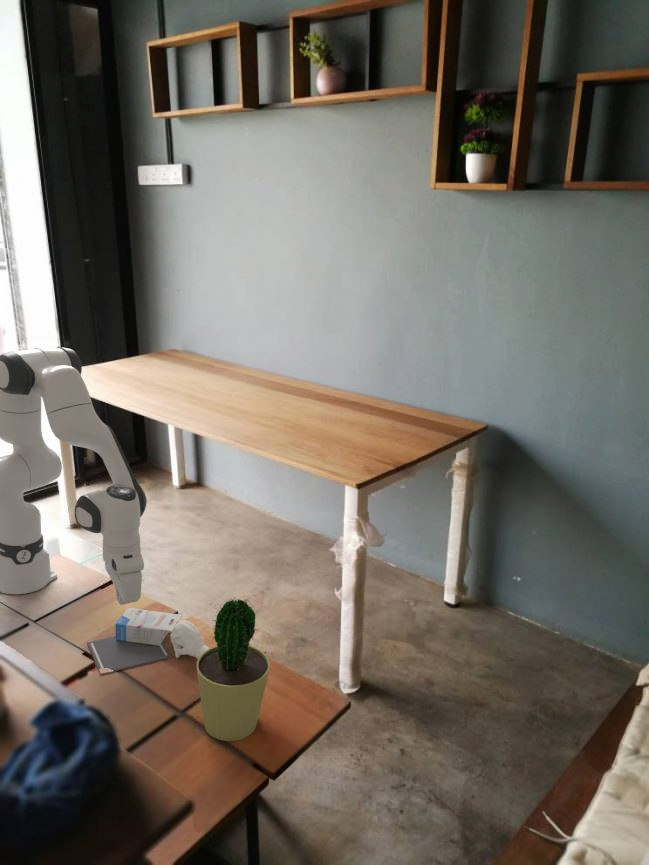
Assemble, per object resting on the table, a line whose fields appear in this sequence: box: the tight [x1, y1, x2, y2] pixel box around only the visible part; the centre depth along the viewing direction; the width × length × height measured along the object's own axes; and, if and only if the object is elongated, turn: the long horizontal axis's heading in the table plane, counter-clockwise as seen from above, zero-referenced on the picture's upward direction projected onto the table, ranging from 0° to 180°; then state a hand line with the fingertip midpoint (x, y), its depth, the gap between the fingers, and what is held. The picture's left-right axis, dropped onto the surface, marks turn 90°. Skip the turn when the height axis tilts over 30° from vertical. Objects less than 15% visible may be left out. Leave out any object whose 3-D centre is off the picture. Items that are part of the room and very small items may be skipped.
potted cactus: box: [196, 597, 271, 742], centre depth 145 cm, size 15×15×30 cm
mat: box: [86, 635, 172, 673], centre depth 172 cm, size 14×17×1 cm
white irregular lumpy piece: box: [169, 619, 211, 659], centre depth 170 cm, size 6×8×12 cm
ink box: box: [114, 607, 183, 646], centre depth 177 cm, size 8×5×15 cm
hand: (121, 601), depth 172 cm, fingers closed
